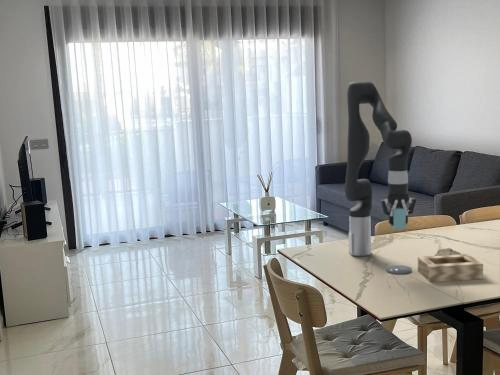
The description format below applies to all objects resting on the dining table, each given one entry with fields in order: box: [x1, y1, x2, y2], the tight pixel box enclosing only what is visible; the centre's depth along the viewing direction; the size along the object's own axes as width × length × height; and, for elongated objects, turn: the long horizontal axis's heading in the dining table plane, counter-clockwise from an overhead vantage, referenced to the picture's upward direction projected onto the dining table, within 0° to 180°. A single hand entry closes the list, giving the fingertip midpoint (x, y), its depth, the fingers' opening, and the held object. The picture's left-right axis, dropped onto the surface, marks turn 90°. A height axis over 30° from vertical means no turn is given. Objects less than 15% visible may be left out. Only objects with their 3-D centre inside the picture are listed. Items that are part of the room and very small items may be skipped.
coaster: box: [385, 264, 413, 275], centre depth 233 cm, size 10×10×1 cm
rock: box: [433, 247, 462, 256], centre depth 245 cm, size 11×11×4 cm
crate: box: [417, 253, 484, 283], centre depth 225 cm, size 20×14×6 cm
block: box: [390, 207, 407, 230], centre depth 230 cm, size 4×4×8 cm
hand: (398, 224), depth 231 cm, fingers closed on block, 4 cm apart
